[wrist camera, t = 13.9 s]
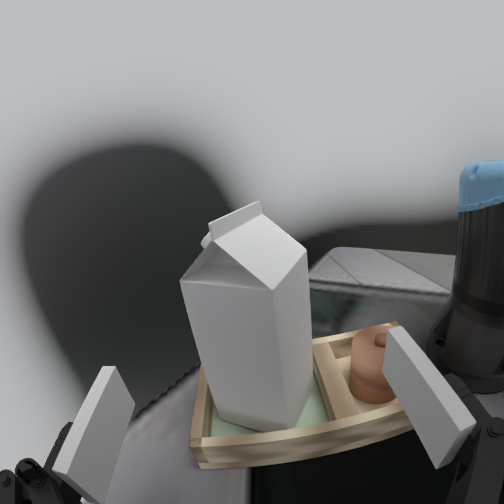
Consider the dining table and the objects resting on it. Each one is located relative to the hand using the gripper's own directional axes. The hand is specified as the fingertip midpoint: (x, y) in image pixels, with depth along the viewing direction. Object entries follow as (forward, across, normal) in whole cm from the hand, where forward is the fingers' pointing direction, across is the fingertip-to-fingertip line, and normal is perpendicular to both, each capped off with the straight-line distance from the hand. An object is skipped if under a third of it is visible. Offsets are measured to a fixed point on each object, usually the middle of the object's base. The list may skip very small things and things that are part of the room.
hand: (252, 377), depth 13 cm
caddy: (+10, +5, -15) cm, 18 cm away
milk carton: (+10, 0, -13) cm, 17 cm away
